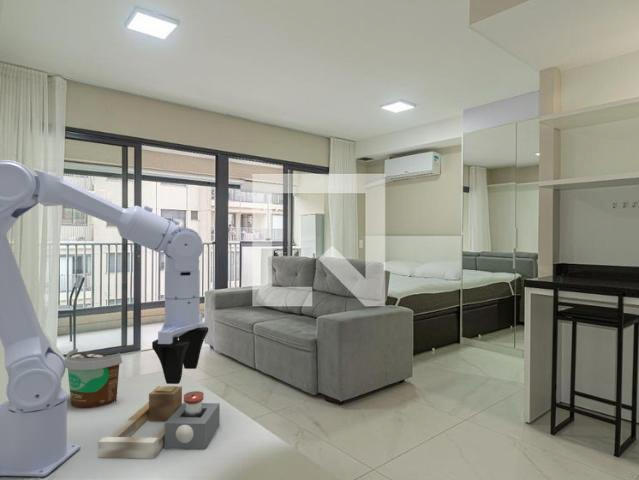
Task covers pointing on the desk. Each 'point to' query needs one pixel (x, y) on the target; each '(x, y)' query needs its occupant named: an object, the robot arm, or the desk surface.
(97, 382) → the food container
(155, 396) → the block
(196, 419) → the grey housing block
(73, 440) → the desk surface
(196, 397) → the plunger
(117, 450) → the channel
